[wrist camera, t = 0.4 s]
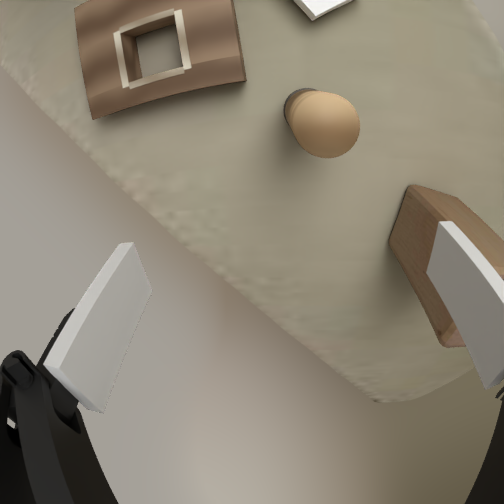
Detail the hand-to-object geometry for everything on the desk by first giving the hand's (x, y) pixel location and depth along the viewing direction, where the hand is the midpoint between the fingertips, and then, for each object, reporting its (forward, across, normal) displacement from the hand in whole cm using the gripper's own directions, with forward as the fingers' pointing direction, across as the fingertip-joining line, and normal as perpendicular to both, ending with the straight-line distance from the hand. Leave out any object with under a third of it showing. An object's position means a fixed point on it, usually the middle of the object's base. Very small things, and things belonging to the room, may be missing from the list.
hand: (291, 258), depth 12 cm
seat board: (+24, -12, +15) cm, 31 cm away
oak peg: (+24, +4, +3) cm, 25 cm away
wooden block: (+25, +21, -12) cm, 35 cm away
